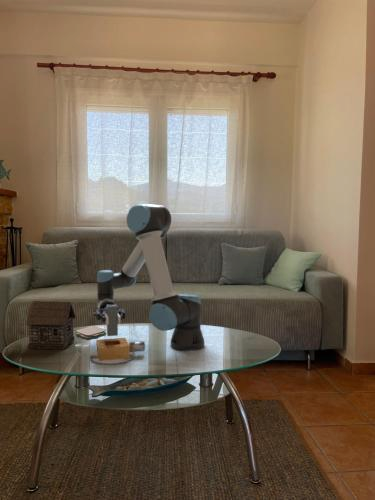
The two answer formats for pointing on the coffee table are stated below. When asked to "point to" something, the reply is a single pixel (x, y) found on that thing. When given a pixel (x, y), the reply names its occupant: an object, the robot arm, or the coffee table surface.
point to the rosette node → (115, 351)
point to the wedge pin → (112, 320)
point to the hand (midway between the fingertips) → (113, 320)
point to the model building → (50, 325)
